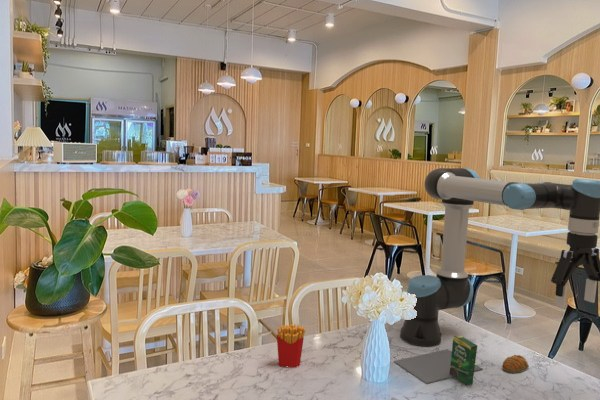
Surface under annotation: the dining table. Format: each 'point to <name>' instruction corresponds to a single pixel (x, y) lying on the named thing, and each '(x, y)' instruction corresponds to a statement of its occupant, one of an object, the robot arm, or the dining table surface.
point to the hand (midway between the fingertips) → (574, 304)
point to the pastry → (515, 364)
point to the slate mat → (430, 366)
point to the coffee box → (463, 359)
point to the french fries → (290, 345)
